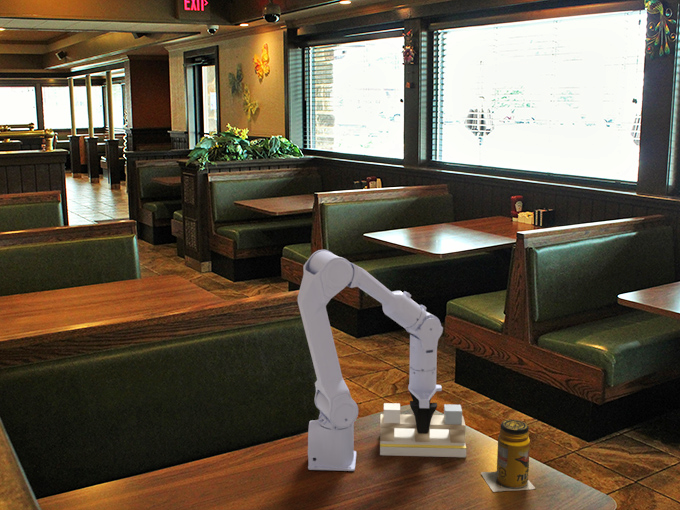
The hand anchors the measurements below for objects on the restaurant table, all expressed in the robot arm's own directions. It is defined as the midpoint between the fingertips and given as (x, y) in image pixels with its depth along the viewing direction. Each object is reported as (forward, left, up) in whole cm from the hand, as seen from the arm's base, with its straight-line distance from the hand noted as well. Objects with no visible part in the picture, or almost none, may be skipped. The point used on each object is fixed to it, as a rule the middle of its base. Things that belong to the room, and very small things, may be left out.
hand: (422, 426), depth 151 cm
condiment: (+16, -14, -5) cm, 22 cm away
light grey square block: (+7, 0, +2) cm, 7 cm away
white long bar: (0, 0, -2) cm, 2 cm away
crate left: (-6, 0, +2) cm, 7 cm away
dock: (0, 0, -4) cm, 4 cm away
